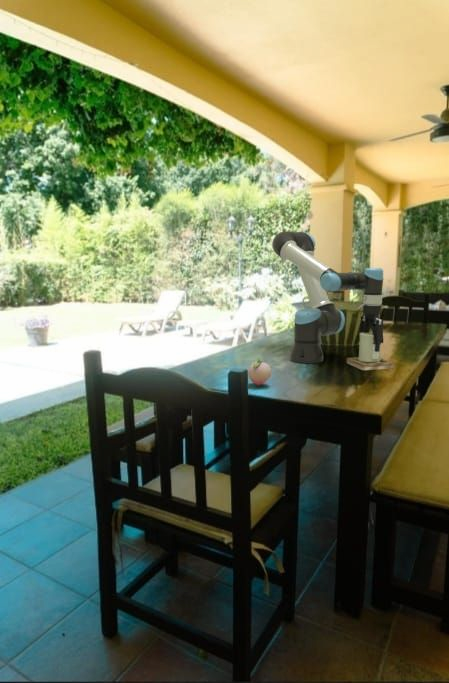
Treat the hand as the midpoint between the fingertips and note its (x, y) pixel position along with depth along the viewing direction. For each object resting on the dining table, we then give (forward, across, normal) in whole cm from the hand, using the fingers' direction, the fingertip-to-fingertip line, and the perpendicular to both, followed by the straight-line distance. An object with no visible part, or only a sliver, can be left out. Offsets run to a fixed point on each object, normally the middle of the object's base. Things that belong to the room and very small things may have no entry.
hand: (369, 356), depth 197 cm
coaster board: (+4, 0, 0) cm, 4 cm away
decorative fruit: (+4, +20, -56) cm, 60 cm away
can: (+2, 0, 0) cm, 2 cm away
